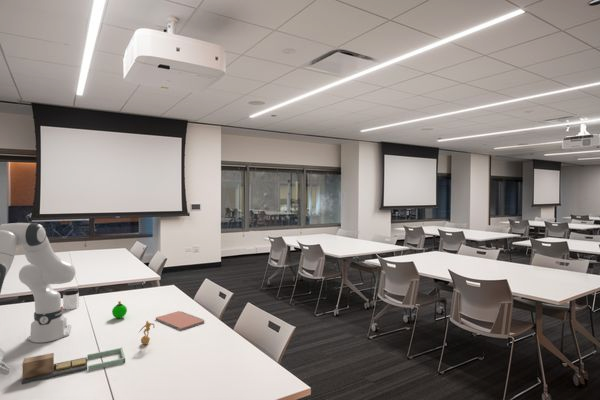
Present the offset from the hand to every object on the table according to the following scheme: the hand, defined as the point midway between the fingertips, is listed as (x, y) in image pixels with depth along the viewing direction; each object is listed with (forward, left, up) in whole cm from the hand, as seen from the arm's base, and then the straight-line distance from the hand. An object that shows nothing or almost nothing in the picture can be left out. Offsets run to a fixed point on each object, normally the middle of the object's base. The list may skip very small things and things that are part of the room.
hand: (8, 372), depth 142 cm
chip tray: (-9, +33, -5) cm, 34 cm away
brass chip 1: (-5, +17, -4) cm, 19 cm away
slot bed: (-4, +15, -5) cm, 16 cm away
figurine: (-25, +48, -5) cm, 54 cm away
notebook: (-55, +63, -6) cm, 84 cm away
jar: (-101, -6, -5) cm, 101 cm away
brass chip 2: (-6, +23, -4) cm, 24 cm away
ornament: (-71, +28, -5) cm, 76 cm away
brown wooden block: (-3, +9, -4) cm, 10 cm away
